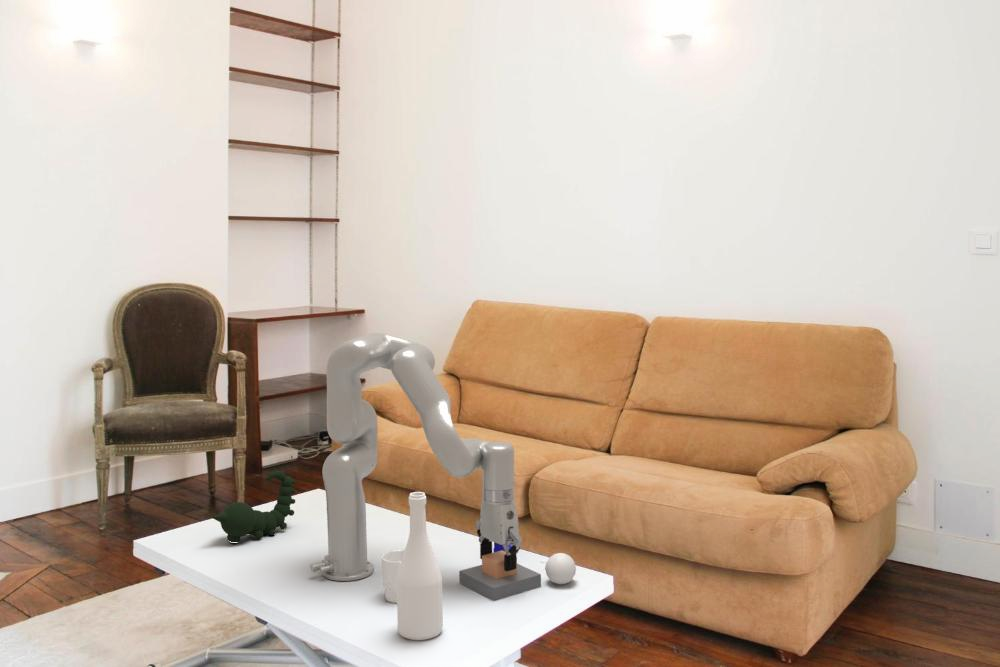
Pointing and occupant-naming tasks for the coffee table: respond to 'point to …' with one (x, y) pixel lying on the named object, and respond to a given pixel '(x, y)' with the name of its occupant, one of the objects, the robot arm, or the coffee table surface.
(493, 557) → the tan block
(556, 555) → the white piece
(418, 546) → the wine bottle
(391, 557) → the white cup
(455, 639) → the coffee table surface
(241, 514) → the toy figurine
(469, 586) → the flat gray square plate
